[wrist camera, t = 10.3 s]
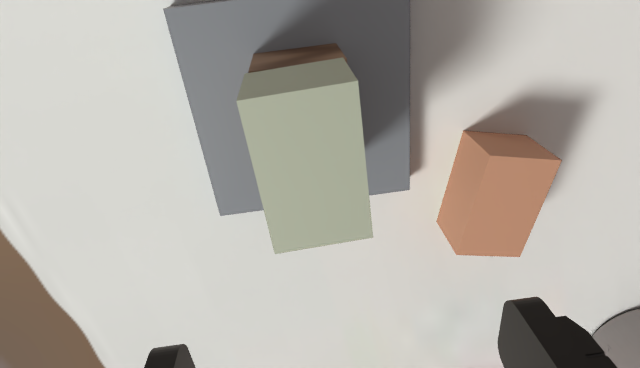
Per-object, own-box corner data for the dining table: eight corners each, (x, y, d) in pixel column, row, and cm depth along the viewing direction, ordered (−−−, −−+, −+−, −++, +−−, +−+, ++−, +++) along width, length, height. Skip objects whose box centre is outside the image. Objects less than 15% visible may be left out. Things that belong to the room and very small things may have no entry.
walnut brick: (336, 43, 24) (346, 58, 20) (346, 161, 28) (356, 194, 24) (253, 53, 24) (248, 71, 20) (274, 171, 28) (274, 205, 24)
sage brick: (343, 57, 20) (358, 80, 16) (358, 192, 24) (373, 237, 20) (244, 73, 20) (236, 101, 16) (275, 206, 24) (274, 254, 20)
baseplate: (403, -23, 24) (410, -22, 23) (404, 180, 31) (409, 189, 30) (169, 6, 24) (163, 9, 23) (222, 205, 31) (220, 215, 29)
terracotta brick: (525, 134, 30) (561, 160, 26) (492, 222, 34) (519, 256, 30) (462, 129, 30) (490, 155, 26) (435, 220, 34) (456, 254, 30)
